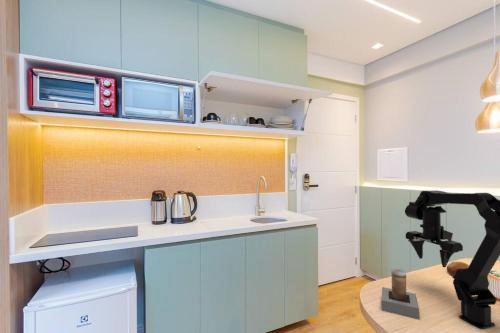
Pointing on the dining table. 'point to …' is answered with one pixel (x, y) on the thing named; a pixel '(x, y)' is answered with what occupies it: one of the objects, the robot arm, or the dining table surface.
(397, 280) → the post
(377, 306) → the dining table surface
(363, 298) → the dining table surface
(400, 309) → the grey square frame
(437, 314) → the dining table surface
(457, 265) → the bread roll
